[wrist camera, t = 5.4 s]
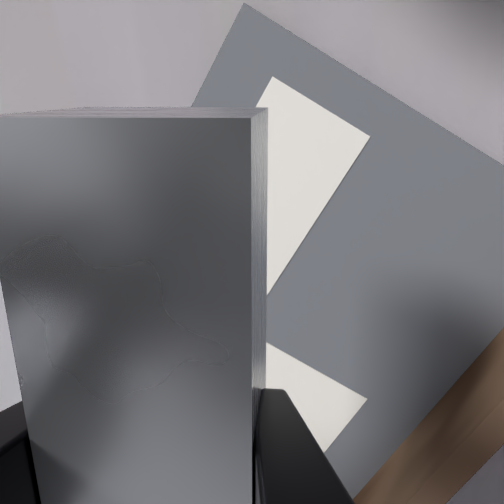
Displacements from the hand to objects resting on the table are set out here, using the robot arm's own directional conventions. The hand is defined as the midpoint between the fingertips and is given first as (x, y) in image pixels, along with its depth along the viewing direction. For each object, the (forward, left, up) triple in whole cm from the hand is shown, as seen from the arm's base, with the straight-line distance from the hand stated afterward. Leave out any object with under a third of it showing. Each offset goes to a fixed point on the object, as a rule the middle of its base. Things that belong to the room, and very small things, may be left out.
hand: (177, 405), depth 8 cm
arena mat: (+2, +3, -11) cm, 11 cm away
